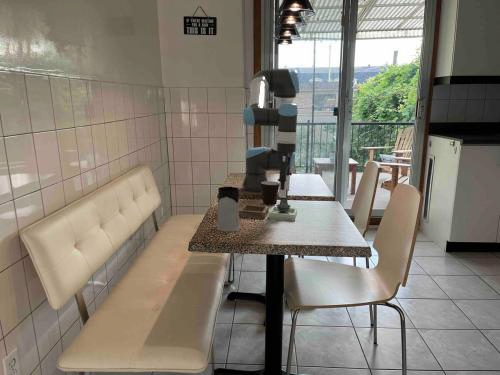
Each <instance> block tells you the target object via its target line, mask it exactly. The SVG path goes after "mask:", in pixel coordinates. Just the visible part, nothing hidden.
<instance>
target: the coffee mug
mask: <svg viewBox="0 0 500 375" xmlns="http://www.w3.org/2000/svg"><path fill="white" fill-rule="evenodd" d="M261 185H262V191H261V194H262V195H261V197H262V204H263V205H265V204H266V205H265V206H275V204H276V205H277V201H278V198H279V181H271V180H268V181H264V182H261Z"/></svg>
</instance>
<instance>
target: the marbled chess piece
mask: <svg viewBox="0 0 500 375" xmlns="http://www.w3.org/2000/svg"><path fill="white" fill-rule="evenodd" d="M288 193H289V191H288V190H287V189H286V198H280V197H279V199H280V200H279V203H278V204H276V207H277V208H278V210H279V211H280V212H278V213H282V214H289V213H288V211H289V209H290V208H292V207H291V205H290V204H289V202H288V201H289V200H288V198H289V196H288Z"/></svg>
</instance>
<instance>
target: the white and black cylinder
mask: <svg viewBox="0 0 500 375" xmlns="http://www.w3.org/2000/svg"><path fill="white" fill-rule="evenodd" d="M239 191H240V188H239V187H235V186H221V187H218V190H217V192H218V195H217V196H218V199H217V225H216V230H218V231H220V232H236V231H238V230H240V220H239V219H240V218H239V210H240V197H239V195H240V194H239V193H240V192H239Z"/></svg>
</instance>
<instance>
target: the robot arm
mask: <svg viewBox="0 0 500 375" xmlns="http://www.w3.org/2000/svg"><path fill="white" fill-rule="evenodd" d="M299 80H300V78H299V72H298V70H297V69H291V68H266V69H261V70H259V71H258V72H256V73H255V74H254V75H253V76H252V78H251V79H250V81H249V85H248V86H249V87H248V88H249V91H250V95H249V101H248V102H249V103H248V107H244V108H243V110H242V122H243V124H244V126H251V127H255V126H256V127H257V126H258V127H259V126H260V127H266V126H267V127H274V142H273V144H272V145H271V149H268V146H259V147H258V146H256V147H251V148H248V149H247V150H246V152H245V175H244V178H243V180H242V185H241V190H244V191H247V192H256V193H257V192H259V193H260V192H262V185H261V182H264V181H269V180H268V178H267V172H279V177H278V178H277V182H279V190H278V198H279V199H280V198H286V189H287V190H288V192H289V191H290V184H291V183H290V180H291V176H292V175H293V174H292V172H291V171H292V170H293V168H294V165H295V164H294V163H295V160H296V159H295V157H296V148H297V147H296V146H297V145H296V142H297V123H298V113H299V111H298V104H297V103H293V102H294V100H295V99H296V98H297V95H298V94H299V93H300V81H299ZM267 93H269V94H273V95H272V96H273V98H274V99H275V107H273V108H271V107H267Z"/></svg>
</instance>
